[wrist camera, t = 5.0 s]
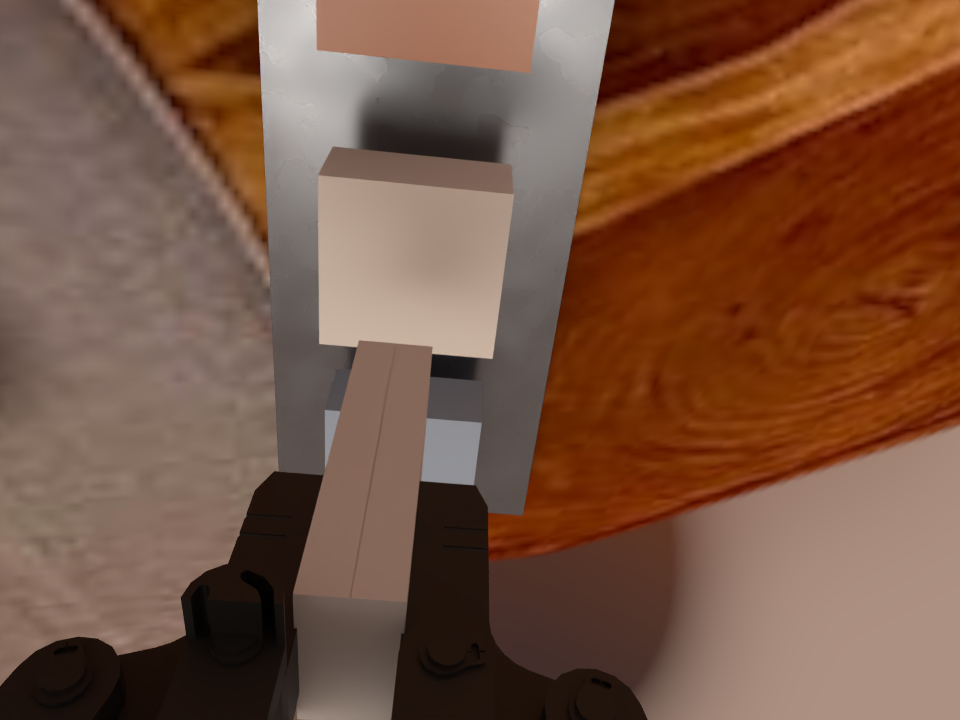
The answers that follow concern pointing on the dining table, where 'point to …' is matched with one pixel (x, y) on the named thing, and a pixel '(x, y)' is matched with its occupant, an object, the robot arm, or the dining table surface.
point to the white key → (412, 250)
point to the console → (438, 133)
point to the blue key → (433, 427)
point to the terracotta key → (432, 30)
